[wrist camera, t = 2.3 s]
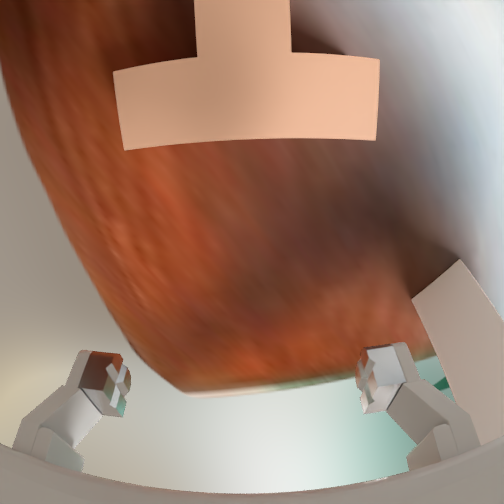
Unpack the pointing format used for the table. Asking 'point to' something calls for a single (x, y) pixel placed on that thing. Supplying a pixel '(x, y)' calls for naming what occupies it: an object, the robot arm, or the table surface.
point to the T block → (247, 85)
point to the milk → (467, 346)
